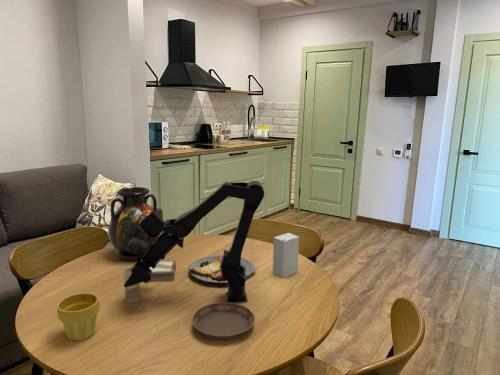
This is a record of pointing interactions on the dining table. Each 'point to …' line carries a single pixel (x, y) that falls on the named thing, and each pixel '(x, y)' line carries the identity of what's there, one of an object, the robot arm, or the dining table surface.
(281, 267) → the skincare box
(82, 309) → the plant pot
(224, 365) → the dining table surface
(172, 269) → the plinth
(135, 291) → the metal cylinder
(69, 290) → the dining table surface
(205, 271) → the food plate
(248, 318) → the plant saucer
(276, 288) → the dining table surface
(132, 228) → the amphora vase
